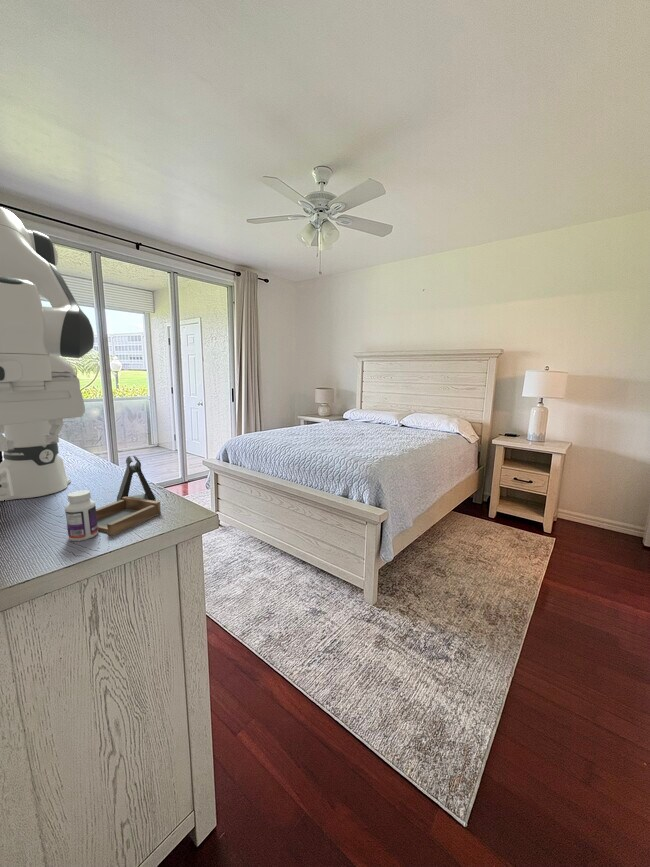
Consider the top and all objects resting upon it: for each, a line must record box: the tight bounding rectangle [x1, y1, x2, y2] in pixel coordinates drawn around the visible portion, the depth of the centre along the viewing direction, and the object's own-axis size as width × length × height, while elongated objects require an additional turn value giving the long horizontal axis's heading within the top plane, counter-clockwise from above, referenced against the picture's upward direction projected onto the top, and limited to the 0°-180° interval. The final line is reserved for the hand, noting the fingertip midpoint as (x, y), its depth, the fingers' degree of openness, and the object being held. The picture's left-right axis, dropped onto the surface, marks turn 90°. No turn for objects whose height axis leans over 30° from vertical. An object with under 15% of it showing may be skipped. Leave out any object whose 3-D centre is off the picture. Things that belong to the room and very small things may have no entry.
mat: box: [97, 508, 138, 526], centre depth 86 cm, size 9×11×1 cm
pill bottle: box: [64, 489, 99, 542], centre depth 76 cm, size 5×5×10 cm
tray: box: [96, 495, 162, 537], centre depth 85 cm, size 11×14×3 cm
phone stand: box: [116, 455, 157, 502], centre depth 98 cm, size 9×6×12 cm, turn 124°
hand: (30, 446), depth 66 cm, fingers open, 6 cm apart
